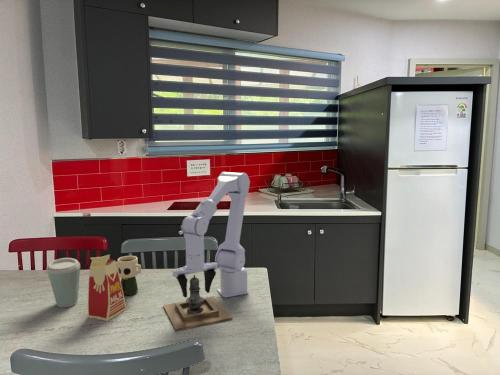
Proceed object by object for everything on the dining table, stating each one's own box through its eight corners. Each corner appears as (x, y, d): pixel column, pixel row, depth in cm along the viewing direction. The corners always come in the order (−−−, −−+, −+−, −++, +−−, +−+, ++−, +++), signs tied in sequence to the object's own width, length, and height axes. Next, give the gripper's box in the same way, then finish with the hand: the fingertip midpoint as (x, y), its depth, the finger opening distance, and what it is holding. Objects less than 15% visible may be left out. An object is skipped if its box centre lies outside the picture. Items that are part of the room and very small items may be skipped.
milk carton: (126, 309, 133) (123, 251, 130) (108, 321, 125) (104, 259, 122) (104, 305, 136) (100, 248, 133) (84, 317, 128) (80, 256, 125)
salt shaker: (201, 314, 128) (201, 278, 126) (183, 313, 128) (182, 277, 127) (205, 306, 133) (205, 272, 132) (188, 305, 134) (187, 271, 132)
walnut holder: (214, 297, 142) (214, 292, 142) (232, 319, 126) (232, 313, 125) (163, 306, 135) (163, 301, 135) (175, 331, 118) (175, 324, 118)
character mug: (110, 294, 145) (108, 260, 143) (122, 287, 152) (120, 254, 150) (136, 298, 142) (134, 263, 140) (147, 290, 148) (146, 257, 146)
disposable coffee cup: (88, 303, 138) (85, 261, 136) (56, 314, 130) (53, 269, 128) (75, 295, 145) (72, 255, 143) (43, 304, 137) (40, 262, 135)
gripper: (211, 246, 134) (212, 285, 136) (169, 253, 127) (170, 293, 129) (219, 252, 128) (220, 292, 130) (176, 259, 121) (177, 302, 123)
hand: (196, 293), depth 129 cm, fingers open, 7 cm apart
